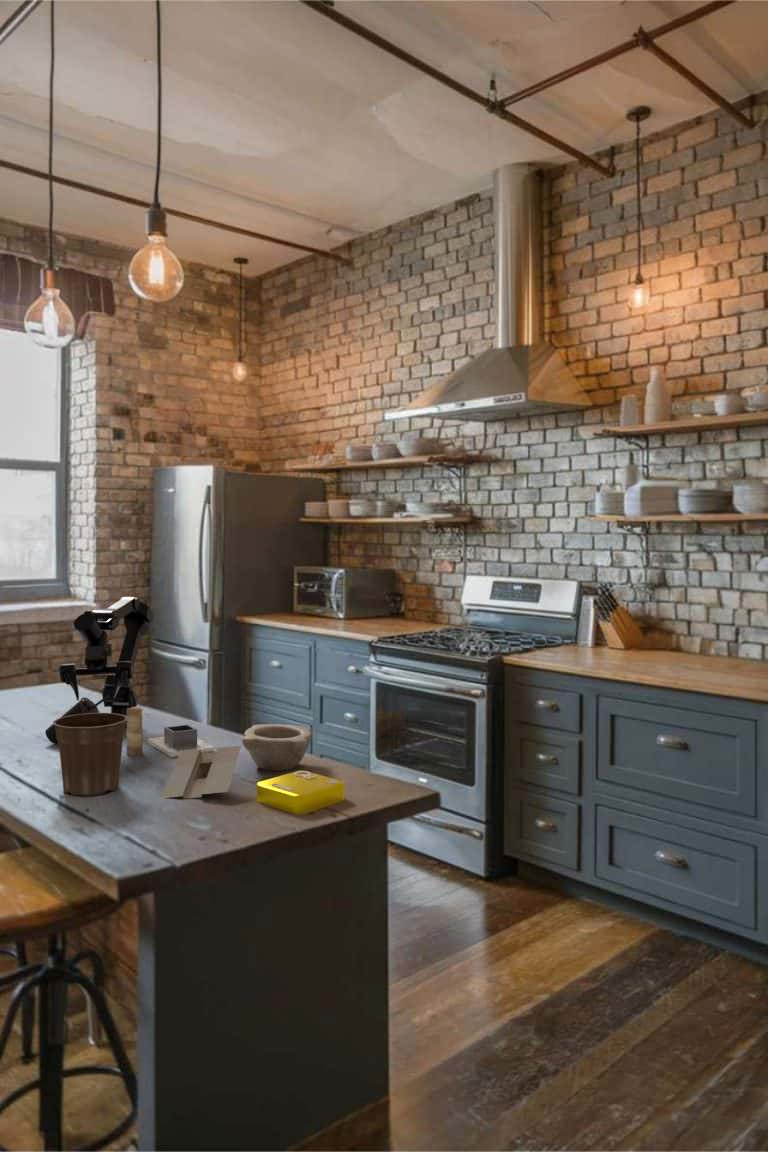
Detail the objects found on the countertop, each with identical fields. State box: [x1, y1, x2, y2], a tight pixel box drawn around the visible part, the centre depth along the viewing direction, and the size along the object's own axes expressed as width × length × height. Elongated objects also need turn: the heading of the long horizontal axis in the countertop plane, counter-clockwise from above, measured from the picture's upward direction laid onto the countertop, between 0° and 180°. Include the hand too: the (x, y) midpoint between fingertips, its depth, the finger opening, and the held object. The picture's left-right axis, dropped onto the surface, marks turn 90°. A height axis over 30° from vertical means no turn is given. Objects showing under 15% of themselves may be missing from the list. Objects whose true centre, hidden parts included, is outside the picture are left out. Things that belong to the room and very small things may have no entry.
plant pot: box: [52, 712, 128, 797], centre depth 198 cm, size 16×16×16 cm
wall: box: [159, 745, 242, 799], centre depth 199 cm, size 16×9×15 cm
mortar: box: [241, 723, 313, 772], centre depth 219 cm, size 17×17×9 cm
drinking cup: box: [44, 695, 110, 745], centre depth 238 cm, size 8×8×20 cm
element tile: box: [256, 769, 345, 815], centre depth 192 cm, size 15×15×5 cm
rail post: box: [126, 706, 143, 757], centre depth 229 cm, size 4×4×12 cm
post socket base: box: [147, 724, 215, 759], centre depth 237 cm, size 18×12×5 cm, turn 34°
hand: (95, 698), depth 233 cm, fingers open, 9 cm apart
